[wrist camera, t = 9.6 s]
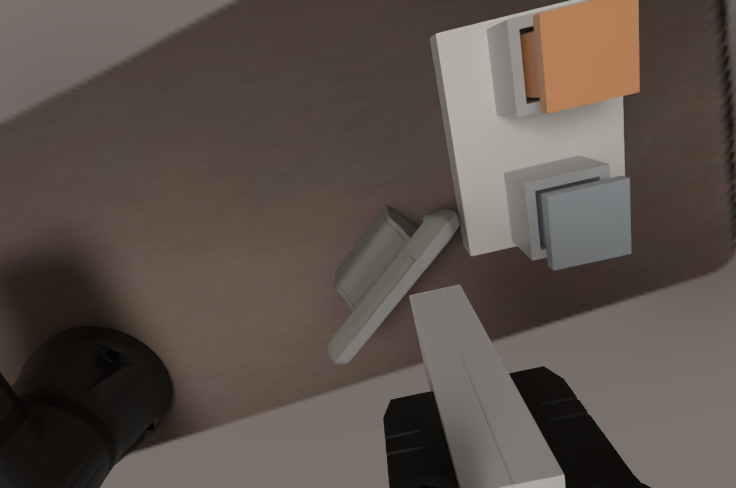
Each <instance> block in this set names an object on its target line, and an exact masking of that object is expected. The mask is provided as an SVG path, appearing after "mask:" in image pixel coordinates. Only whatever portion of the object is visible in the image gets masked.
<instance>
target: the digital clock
mask: <svg viewBox="0 0 736 488" xmlns="http://www.w3.org/2000/svg"><path fill="white" fill-rule="evenodd" d="M423 221H424V222H423V223H422V224H421V225H420V227H419V228H418V227H416V226H415V225H414V224H412V223H411V222H409V221H408V220H407V219H405V218H404V217H402V216H401V215H399V214H398V213H397V212H395V211H394V210H392V209H391V208H389V207H388V206H385V207H384V208H383V210H382V211H381V212H380V214H379V215H378V216H377V218H376V219H375V220H374V222H373V223H372V224H371V226H370V227H369V228H368V230H367V231H366V232H365V234H364V235H363V236H362V238H361V239H360V240H359V242H358V243H357V244H356V246H355V247H354V248H353V250H352V251H351V252H350V254H349V255H348V256H347V258H346V259H345V260H344V262H343V263H342V264H341V266H340V267H339V268H338V270H337V271H336V278H335V289H336V291H337V292H338V293H339V294H340V295H341V296H342V297H343V298H344V300H345V301H346V303H347V304H348V306H349V308H350V310H351V312H352V313H351V314H350V316H349V317H348V318H347V319H346V321H345V322H344V323H343V324H342V326H341V327H340V328H339V330H338V331H337V332H336V333H335V335H334V336H333V337H332V338H331V340H330V341H329V342H328V344H327V351H328V355H329V357H330V359H331V360H332V362H334V363H335V364H345V363H349V362H350V361H351V359H352V358H353V357H354V356H356V355H357V353H358V352H359V351H360V350H361V348H362V347H363V346H364V345H365V344H366V342H367V341H368V340H369V339H370V337H371V336H372V335H373V334H374V333H375V331H376V330H377V329H378V328H379V327H380V325H381V324H382V323H383V322H384V320H385V319H386V318H387V317H388V316H389V314H390V313H391V312H392V311H393V309H394V308H395V307H396V306H397V305H398V303H399V302H400V301H401V300H402V298H403V297H404V296H405V295H406V294H407V292H408V291H409V290H410V289H411V287H412V286H413V285H414V284H415V283H416V281H417V280H418V279H419V278H420V276H421V275H422V274H423V273H424V272H425V270H426V269H427V268H428V267H429V265H430V264H431V263H432V262H433V261H434V259H435V258H436V257H437V256H438V254H439V253H440V252H441V251H442V250H443V248H444V247H445V246H446V245H447V244H448V242H449V241H450V239H451V237H452V236H453V235H454V233H455V232H456V230H457V228H458V227H459V225H460V223H459V218H458V215H457V213H456V212H454V211H453V210H450V209H440V210H438V211H436V212H434V213H432V214H430V215H426V216H425V217H424V218H423ZM405 259H406V260H405ZM401 264H402V265H401ZM397 269H398V270H397ZM393 274H394V275H393Z"/></svg>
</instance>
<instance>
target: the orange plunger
mask: <svg viewBox="0 0 736 488" xmlns="http://www.w3.org/2000/svg"><path fill="white" fill-rule="evenodd" d="M533 25H534V31H532V32H529V33H527V34H524V35H521V36H520V42H521V52H522V62H523V73H524V83H525V93H526V97H533V98H540V105H541V113H546V114H548V113H552V112H557V111H561V110H565V109H569V108H574V107H578V106H582V105H586V104H591V103H595V102H599V101H604V100H608V99H612V98H616V97H621V96H625V95H629V94H633V93H638V92H640V86H639V8H638V0H591V1H587V2H583V3H579V4H575V5H570V6H566V7H562V8H558V9H554V10H550V11H546V12H542V13H538V14H536V15H534V16H533Z"/></svg>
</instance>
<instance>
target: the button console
mask: <svg viewBox="0 0 736 488" xmlns="http://www.w3.org/2000/svg"><path fill="white" fill-rule="evenodd" d="M587 1H591V0H570V1H566V2H562V3H558V4H554V5H550V6H546V7H542V8H538V9H534V10H530V11H526V12H522V13H518V14H514V15H509V16H505V17H501V18H497V19H493V20H489V21H485V22H481V23H477V24H473V25H469V26H465V27H461V28H457V29H453V30H449V31H445V32H441V33H437V34H435V35H433V36H432V37H430V44H431V50H432V56H433V62H434V68H435V74H436V81H437V87H438V93H439V99H440V105H441V111H442V117H443V124H444V130H445V136H446V142H447V148H448V154H449V160H450V167H451V173H452V179H453V185H454V191H455V197H456V203H457V210H458V216H459V222H460V228H461V234H462V240H463V246H464V248H465V249H466V250H467V252H468V253H469V255H470V256H475V255H480V254H484V253H489V252H493V251H498V250H502V249H507V248H511V247H516V246H517V247H518V248H519V249H520V250H522V251H523V252H524V253H525V254H526V255H527V256H528V257H529V258H530V259H531V260H532V261H533V260H538V259H543V258H547V248H546V245H545V244H544V243H542V242H541V241H540V236H539V226H538V216H537V205H536V195H535V191H537V190H542V189H546V188H551V187H555V186H559V185H564V184H568V183H573V182H577V181H581V180H586V179H588V180H590V181H593V182H595V181H600V180H604V179H609V178H613V177H617V176H625V160H624V121H623V96H621V97H616V98H612V99H608V100H604V101H599V102H595V103H591V104H586V105H582V106H578V107H574V108H569V109H565V110H561V111H557V112H552V113H548V114H546V113H541V105H540V98H533V97H526V93H525V83H524V73H523V62H522V52H521V42H520V36H521V35H524V34H527V33H529V32H532V31H534V25H533V16H534V15H536V14H538V13H542V12H546V11H550V10H554V9H558V8H562V7H566V6H570V5H575V4H579V3H583V2H587Z"/></svg>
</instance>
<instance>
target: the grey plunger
mask: <svg viewBox="0 0 736 488" xmlns="http://www.w3.org/2000/svg"><path fill="white" fill-rule="evenodd" d="M535 195H536V205H537V216H538V226H539V236H540V241H541V242H542V243H544V244H545V245H546V248H547V259H548V266H549V267H550V268H551V269H552V270H553V271H554V270H559V269H564V268H568V267H573V266H577V265H582V264H587V263H591V262H596V261H600V260H605V259H609V258H614V257H619V256H623V255H628V254H631V213H630V178H628V177H625V176H617V177H613V178H609V179H604V180H600V181H595V182H593V181H590V180H588V179H586V180H581V181H577V182H573V183H568V184H564V185H559V186H555V187H551V188H546V189H542V190H537V191H535Z"/></svg>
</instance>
